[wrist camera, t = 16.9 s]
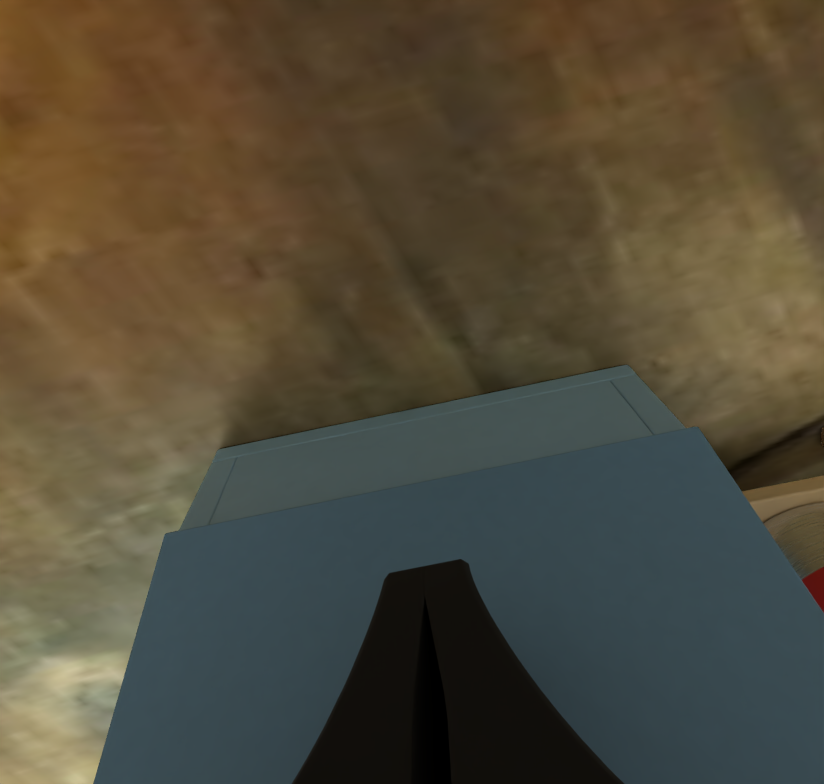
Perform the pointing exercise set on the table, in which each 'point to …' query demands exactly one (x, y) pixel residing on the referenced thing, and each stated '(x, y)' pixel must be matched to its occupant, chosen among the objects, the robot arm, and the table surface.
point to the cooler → (429, 444)
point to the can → (803, 544)
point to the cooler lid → (511, 611)
